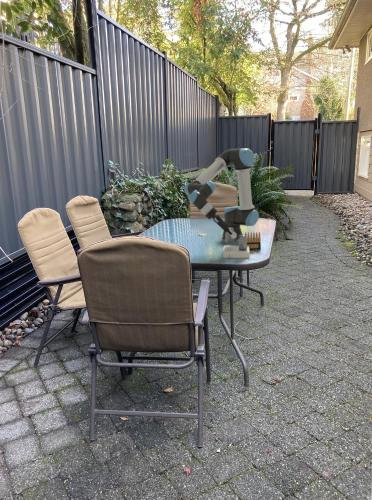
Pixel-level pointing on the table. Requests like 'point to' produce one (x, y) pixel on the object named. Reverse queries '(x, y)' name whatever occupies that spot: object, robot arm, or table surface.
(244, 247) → the cylinder
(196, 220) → the table surface
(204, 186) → the robot arm
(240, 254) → the scale
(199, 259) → the table surface
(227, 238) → the ball
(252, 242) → the ammunition clip
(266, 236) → the table surface
